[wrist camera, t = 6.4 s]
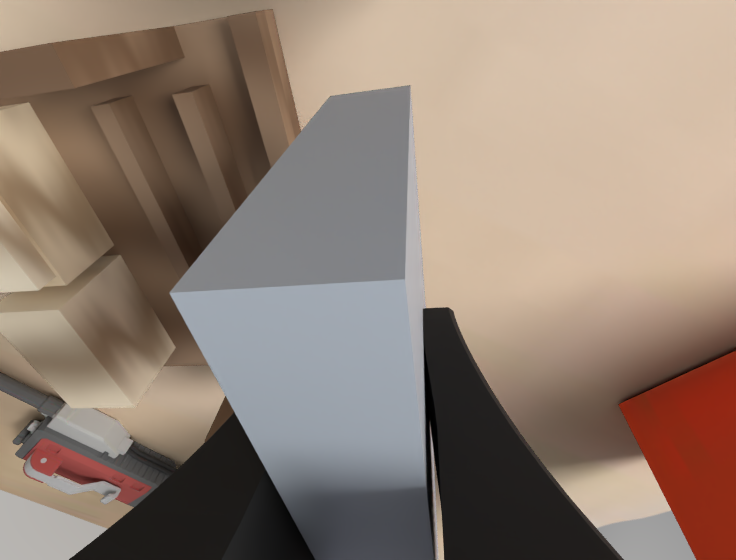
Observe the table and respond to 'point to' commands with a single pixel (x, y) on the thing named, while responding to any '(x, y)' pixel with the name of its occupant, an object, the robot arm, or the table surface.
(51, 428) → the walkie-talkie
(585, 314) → the table surface
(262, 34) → the walnut rack
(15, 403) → the table surface
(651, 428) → the file binder
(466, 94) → the table surface
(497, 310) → the table surface
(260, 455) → the grey rectangular slab
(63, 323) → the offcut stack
